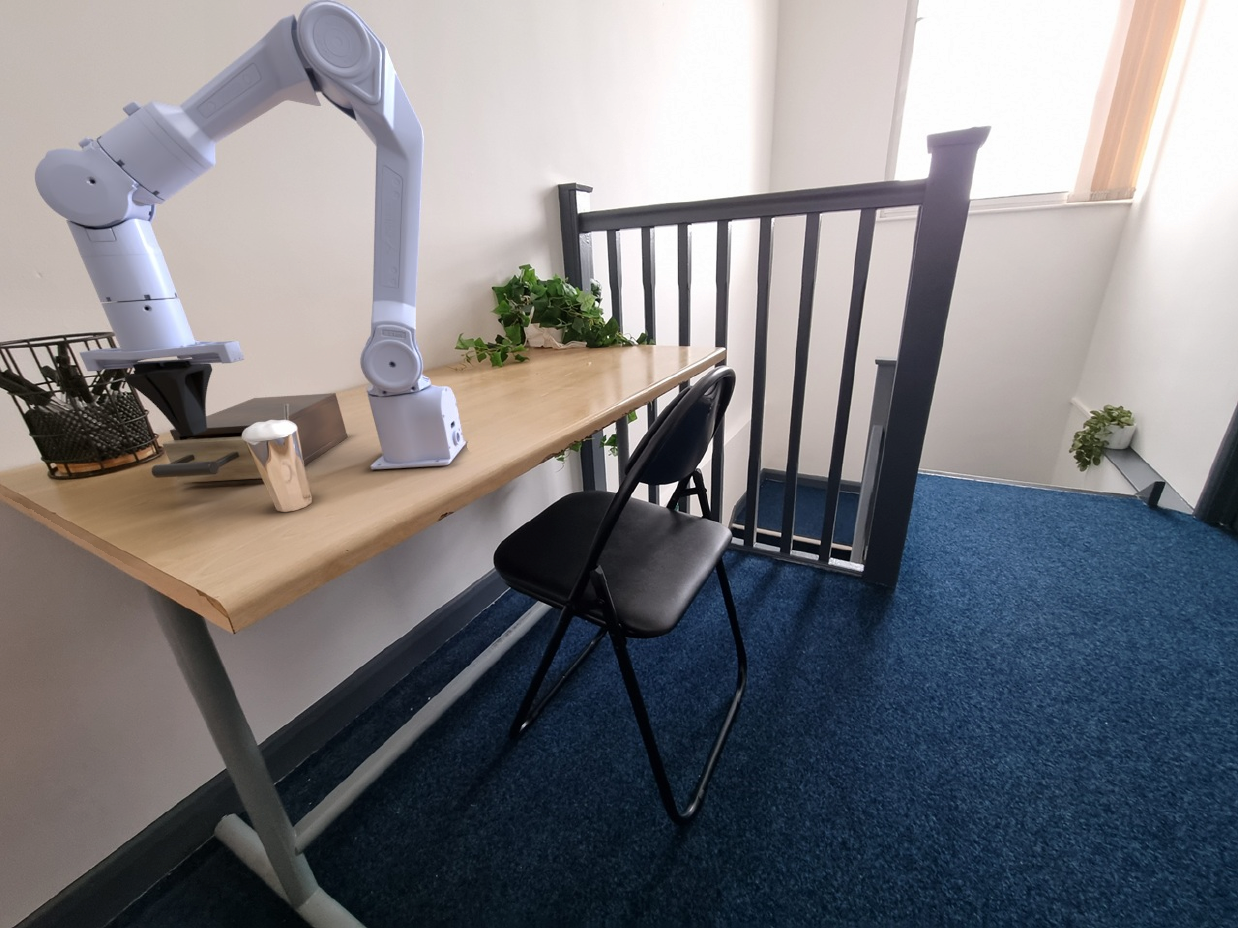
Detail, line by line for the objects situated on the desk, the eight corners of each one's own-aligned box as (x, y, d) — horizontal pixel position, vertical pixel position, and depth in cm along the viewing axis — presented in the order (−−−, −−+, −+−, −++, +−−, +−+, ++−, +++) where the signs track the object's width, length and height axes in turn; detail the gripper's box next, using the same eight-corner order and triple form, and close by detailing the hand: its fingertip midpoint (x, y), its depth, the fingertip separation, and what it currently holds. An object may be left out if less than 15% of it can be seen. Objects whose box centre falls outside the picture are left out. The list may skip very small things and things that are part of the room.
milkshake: (334, 492, 54) (307, 403, 50) (300, 515, 49) (267, 418, 45) (295, 492, 55) (266, 404, 51) (258, 515, 50) (222, 420, 46)
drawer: (240, 495, 52) (224, 453, 51) (142, 501, 52) (123, 459, 51) (330, 439, 69) (320, 405, 67) (256, 443, 69) (244, 410, 67)
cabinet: (288, 477, 59) (270, 424, 57) (191, 482, 59) (169, 430, 57) (347, 437, 73) (335, 393, 70) (269, 441, 73) (254, 397, 70)
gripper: (243, 293, 52) (284, 418, 57) (106, 302, 52) (158, 425, 57) (191, 298, 45) (241, 438, 50) (33, 307, 45) (100, 446, 50)
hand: (194, 433), depth 53 cm, fingers closed
